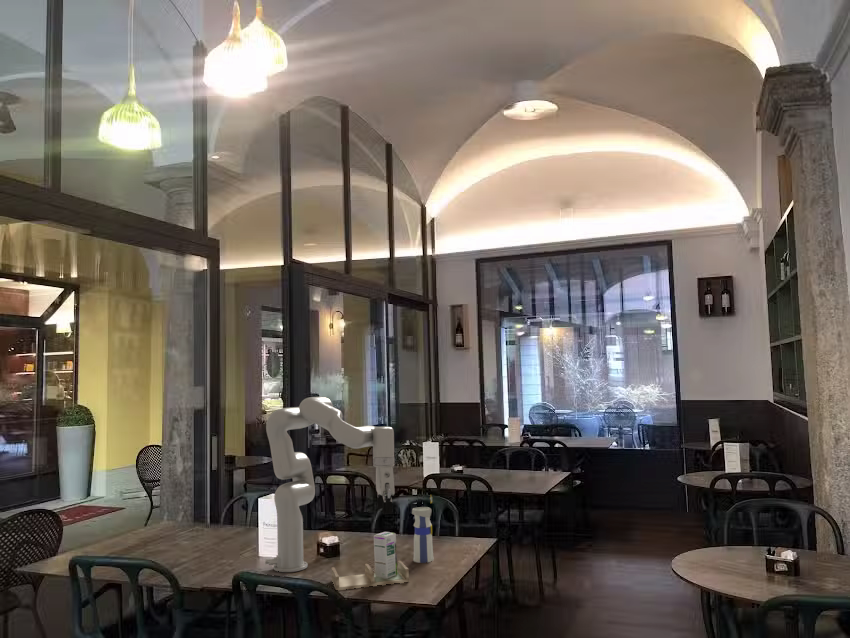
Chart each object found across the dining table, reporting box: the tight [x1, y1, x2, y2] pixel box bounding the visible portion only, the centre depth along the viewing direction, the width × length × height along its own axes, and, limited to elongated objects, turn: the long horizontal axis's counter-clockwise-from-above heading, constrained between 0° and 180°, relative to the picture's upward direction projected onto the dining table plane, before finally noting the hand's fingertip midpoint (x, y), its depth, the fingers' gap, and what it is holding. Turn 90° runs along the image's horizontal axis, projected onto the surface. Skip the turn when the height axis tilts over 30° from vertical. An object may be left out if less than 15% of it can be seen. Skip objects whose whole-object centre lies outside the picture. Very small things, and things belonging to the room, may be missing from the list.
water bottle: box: [411, 495, 434, 564], centre depth 261 cm, size 8×9×25 cm
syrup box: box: [373, 531, 398, 579], centre depth 236 cm, size 6×6×14 cm
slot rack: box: [330, 559, 410, 591], centre depth 234 cm, size 25×12×4 cm, turn 106°
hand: (384, 511), depth 238 cm, fingers open, 9 cm apart
